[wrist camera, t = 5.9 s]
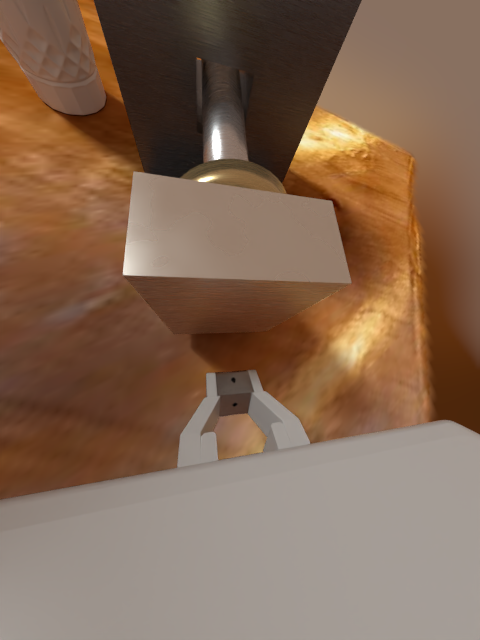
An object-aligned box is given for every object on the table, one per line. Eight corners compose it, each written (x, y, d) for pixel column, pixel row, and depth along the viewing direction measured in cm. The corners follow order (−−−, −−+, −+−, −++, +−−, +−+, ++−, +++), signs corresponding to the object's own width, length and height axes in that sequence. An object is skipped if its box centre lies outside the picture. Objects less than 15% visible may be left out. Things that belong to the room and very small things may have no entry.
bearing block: (278, 265, 20) (420, 75, 7) (146, 257, 17) (-33, -91, 4) (262, 144, 25) (331, -107, 12) (155, 122, 22) (85, -247, 9)
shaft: (265, 331, 16) (351, 283, 7) (173, 334, 15) (122, 275, 5) (247, 155, 22) (282, -9, 12) (178, 142, 20) (157, -60, 11)
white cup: (33, 117, 19) (-138, -136, 9) (30, 67, 20) (-119, -192, 11) (116, 122, 21) (45, -80, 11) (108, 77, 22) (39, -135, 13)
